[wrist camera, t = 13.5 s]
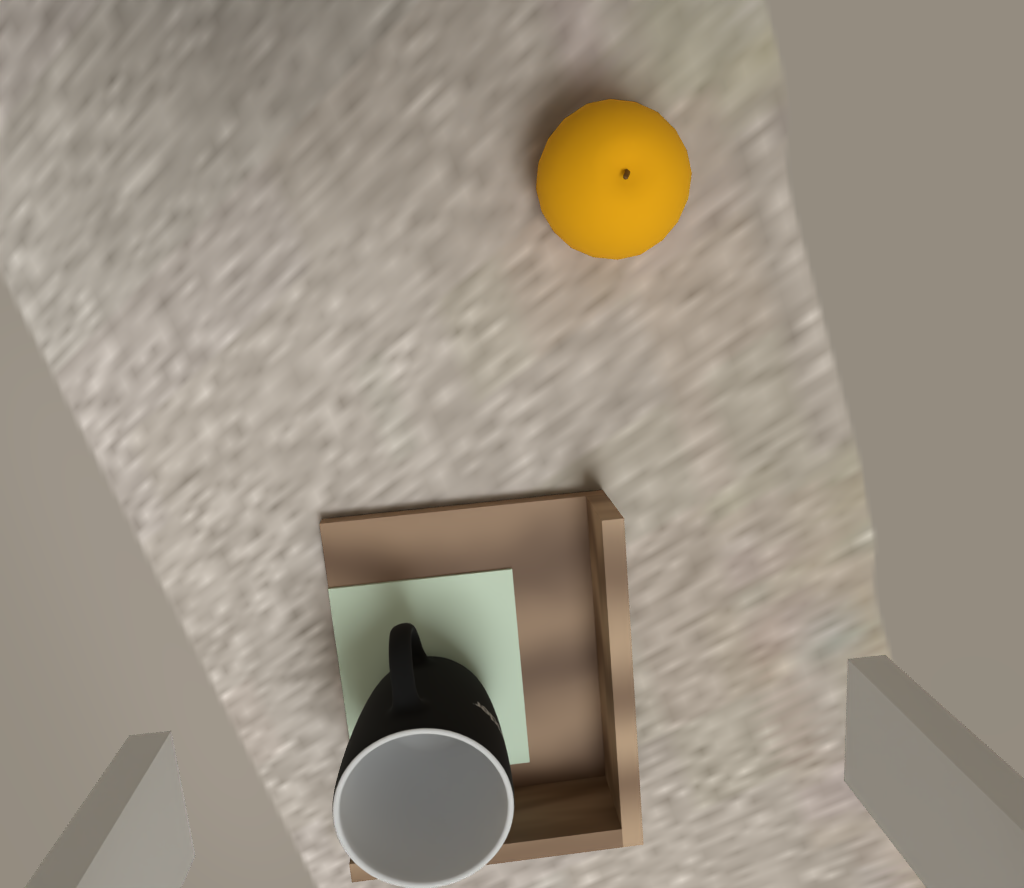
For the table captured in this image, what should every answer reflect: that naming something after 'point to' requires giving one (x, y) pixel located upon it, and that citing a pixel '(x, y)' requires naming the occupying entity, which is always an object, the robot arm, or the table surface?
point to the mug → (424, 773)
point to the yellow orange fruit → (613, 179)
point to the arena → (535, 649)
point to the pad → (436, 638)
